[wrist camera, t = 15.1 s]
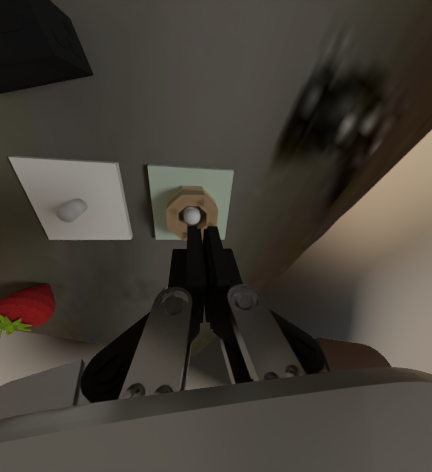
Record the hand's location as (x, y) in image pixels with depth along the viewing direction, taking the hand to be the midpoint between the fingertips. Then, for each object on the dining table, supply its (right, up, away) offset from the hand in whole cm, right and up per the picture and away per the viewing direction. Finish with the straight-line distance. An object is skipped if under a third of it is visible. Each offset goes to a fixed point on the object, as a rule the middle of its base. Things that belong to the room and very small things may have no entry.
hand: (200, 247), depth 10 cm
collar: (-3, +5, +18) cm, 19 cm away
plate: (-3, +6, +18) cm, 19 cm away
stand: (-19, +6, +16) cm, 25 cm away
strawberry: (-31, -9, +23) cm, 40 cm away
